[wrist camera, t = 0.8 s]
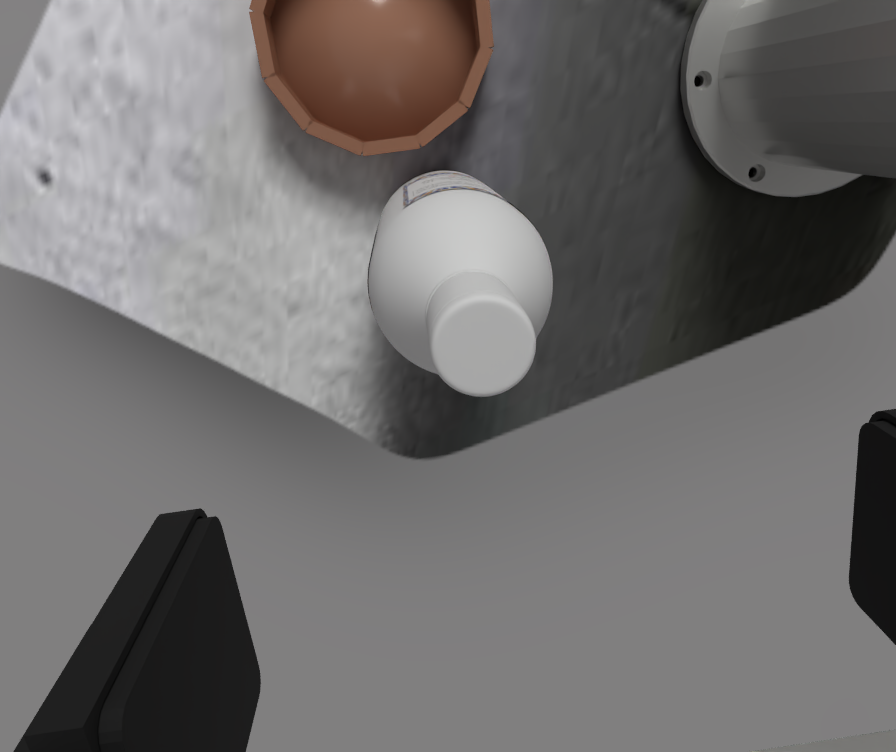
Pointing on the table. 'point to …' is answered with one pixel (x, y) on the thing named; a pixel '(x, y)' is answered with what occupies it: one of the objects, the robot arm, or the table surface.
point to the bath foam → (460, 282)
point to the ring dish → (373, 66)
